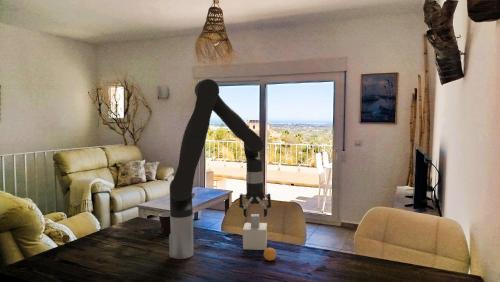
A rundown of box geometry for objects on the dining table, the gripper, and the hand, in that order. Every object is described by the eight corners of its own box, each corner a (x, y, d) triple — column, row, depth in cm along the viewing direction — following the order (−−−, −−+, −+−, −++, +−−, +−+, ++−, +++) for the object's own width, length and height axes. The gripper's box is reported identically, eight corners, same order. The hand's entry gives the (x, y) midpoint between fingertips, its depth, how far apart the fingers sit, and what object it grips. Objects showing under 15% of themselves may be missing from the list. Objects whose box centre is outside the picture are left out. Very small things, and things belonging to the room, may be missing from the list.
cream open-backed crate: (243, 249, 148) (242, 218, 147) (245, 241, 158) (245, 212, 157) (266, 249, 147) (265, 218, 146) (267, 241, 157) (266, 212, 156)
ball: (263, 262, 134) (263, 250, 133) (264, 257, 139) (263, 245, 138) (276, 262, 133) (275, 250, 133) (276, 257, 138) (276, 245, 138)
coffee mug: (172, 237, 165) (171, 217, 164) (156, 236, 167) (155, 216, 166) (181, 229, 176) (181, 210, 176) (166, 228, 178) (166, 210, 177)
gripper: (237, 182, 148) (238, 219, 149) (270, 182, 146) (271, 219, 147) (239, 179, 155) (240, 214, 156) (270, 179, 154) (271, 214, 155)
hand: (255, 216), depth 152 cm, fingers open, 8 cm apart
